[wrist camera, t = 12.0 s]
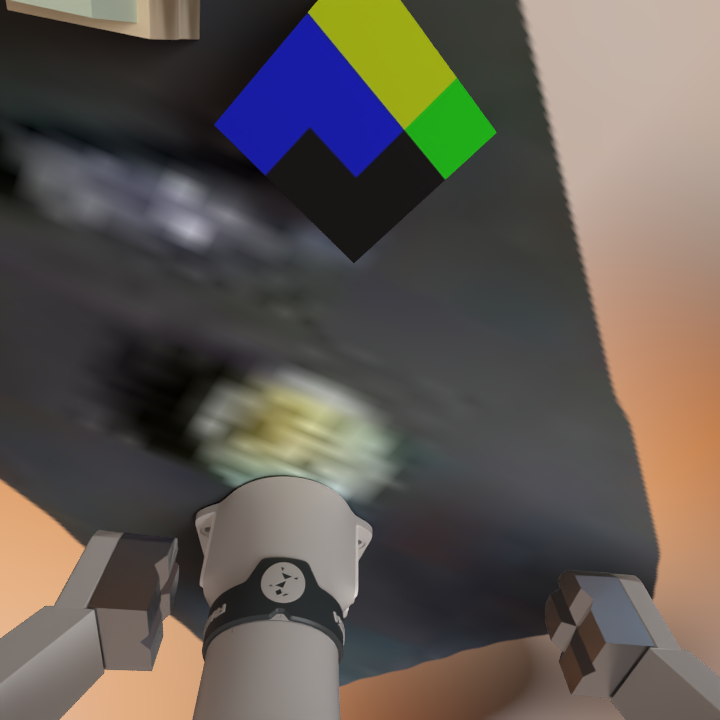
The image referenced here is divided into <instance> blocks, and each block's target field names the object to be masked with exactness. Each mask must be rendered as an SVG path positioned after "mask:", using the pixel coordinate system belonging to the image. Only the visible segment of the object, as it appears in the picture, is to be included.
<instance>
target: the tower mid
mask: <svg viewBox="0 0 720 720" xmlns="http://www.w3.org/2000/svg"><path fill="white" fill-rule="evenodd" d="M6 4H7V10H11V11H15V12H20V13H25V14H30V15H35V16H40V17H45V18H49V19H54V20H59V21H64V22H69V23H74V24H79V25H84V26H88V27H93V28H98V29H103V30H108V31H113V32H118V33H123V34H127V35H132V36H137V37H142V38H147V39H162V40H179V0H137V22H138V23H134V22H125V21H115V20H106V19H97V18H90V17H85V16H81V15H76V14H72V13H67V12H62V11H58V10H53V9H48V8H44V7H39V6H35V5H30V4H25V3H21V2H16V1H11V0H6Z"/></svg>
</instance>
